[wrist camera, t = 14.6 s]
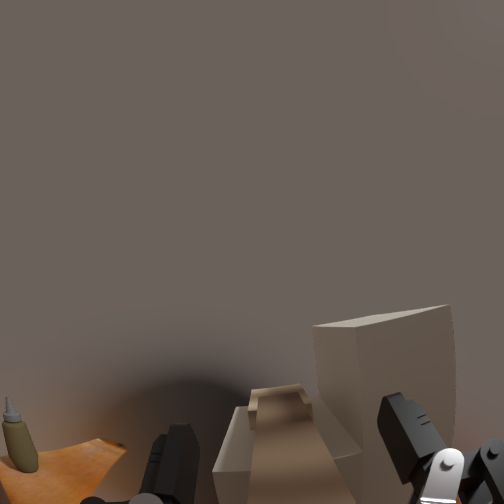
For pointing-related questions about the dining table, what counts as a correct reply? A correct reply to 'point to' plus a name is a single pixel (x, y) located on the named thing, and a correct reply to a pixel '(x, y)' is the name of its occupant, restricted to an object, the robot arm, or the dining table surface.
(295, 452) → the brown bar
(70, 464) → the dining table surface
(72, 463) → the dining table surface
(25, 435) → the squeeze bottle
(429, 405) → the display stand
